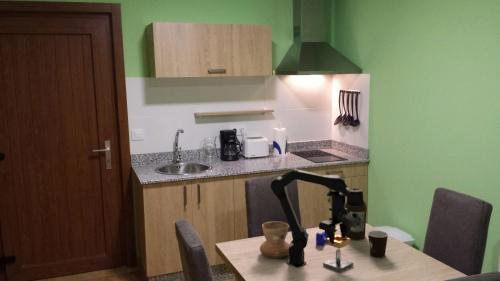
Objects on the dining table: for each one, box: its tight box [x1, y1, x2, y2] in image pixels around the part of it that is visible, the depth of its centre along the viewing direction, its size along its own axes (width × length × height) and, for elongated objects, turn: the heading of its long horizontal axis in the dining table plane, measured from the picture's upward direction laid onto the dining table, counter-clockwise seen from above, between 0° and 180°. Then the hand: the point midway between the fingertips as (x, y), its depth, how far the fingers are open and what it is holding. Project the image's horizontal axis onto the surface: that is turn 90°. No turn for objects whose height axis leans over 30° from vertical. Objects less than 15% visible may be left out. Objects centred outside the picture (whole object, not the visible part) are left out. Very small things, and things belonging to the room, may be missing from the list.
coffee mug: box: [367, 230, 389, 259], centre depth 205 cm, size 12×9×10 cm
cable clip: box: [315, 231, 328, 247], centre depth 222 cm, size 12×4×6 cm, turn 147°
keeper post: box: [322, 248, 354, 273], centre depth 193 cm, size 9×9×8 cm
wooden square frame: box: [325, 234, 351, 250], centre depth 192 cm, size 7×7×2 cm
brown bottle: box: [345, 187, 368, 241], centre depth 226 cm, size 11×11×25 cm
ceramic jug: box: [259, 220, 290, 259], centre depth 207 cm, size 18×14×14 cm
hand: (338, 241), depth 192 cm, fingers closed on wooden square frame, 7 cm apart
